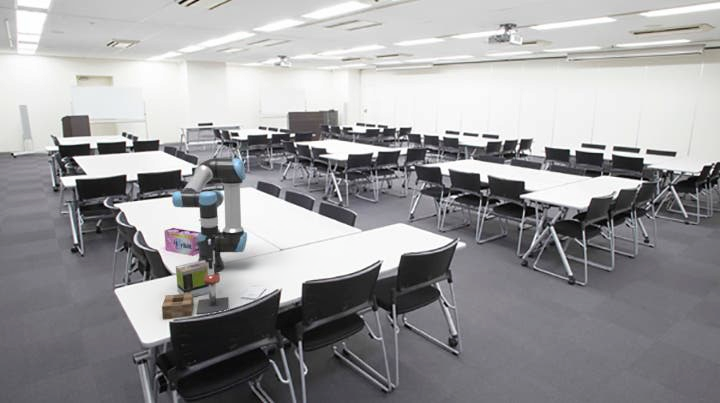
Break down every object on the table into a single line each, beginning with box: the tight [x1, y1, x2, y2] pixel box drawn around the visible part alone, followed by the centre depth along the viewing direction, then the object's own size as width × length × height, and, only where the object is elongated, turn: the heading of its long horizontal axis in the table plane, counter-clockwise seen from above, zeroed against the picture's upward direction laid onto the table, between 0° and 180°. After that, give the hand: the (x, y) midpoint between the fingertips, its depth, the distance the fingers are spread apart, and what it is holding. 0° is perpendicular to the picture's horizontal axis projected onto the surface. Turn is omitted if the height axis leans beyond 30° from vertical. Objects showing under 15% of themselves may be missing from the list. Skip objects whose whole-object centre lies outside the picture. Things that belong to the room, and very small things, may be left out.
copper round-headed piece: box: [204, 272, 221, 306], centre depth 201 cm, size 7×7×15 cm
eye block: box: [161, 293, 195, 320], centre depth 195 cm, size 12×12×6 cm
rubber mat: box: [195, 296, 230, 316], centre depth 202 cm, size 14×14×1 cm
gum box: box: [164, 227, 201, 257], centre depth 272 cm, size 24×8×14 cm, turn 69°
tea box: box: [175, 260, 209, 298], centre depth 215 cm, size 15×10×15 cm, turn 131°
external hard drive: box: [240, 286, 267, 301], centre depth 217 cm, size 2×8×12 cm
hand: (211, 269), depth 198 cm, fingers open, 13 cm apart
